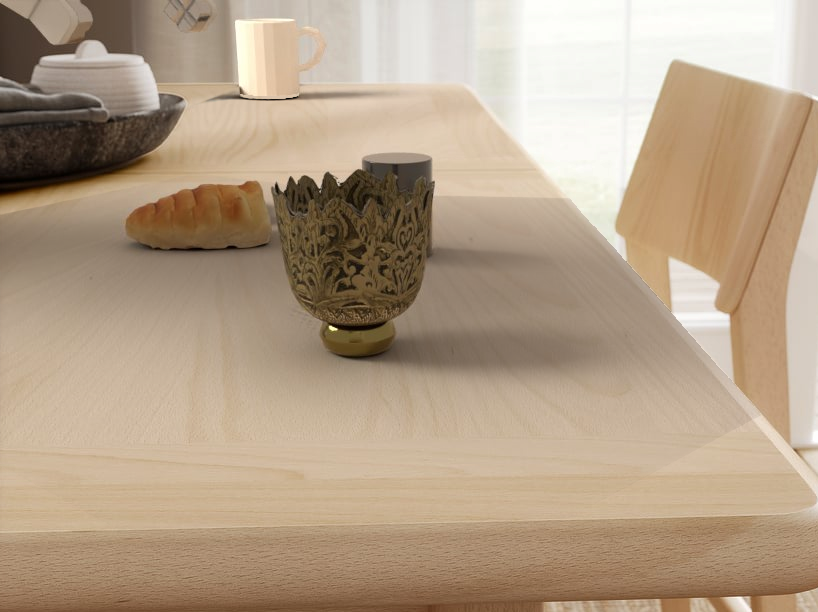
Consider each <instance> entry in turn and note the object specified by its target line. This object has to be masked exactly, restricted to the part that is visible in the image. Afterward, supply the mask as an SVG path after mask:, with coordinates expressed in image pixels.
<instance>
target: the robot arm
mask: <svg viewBox="0 0 818 612" xmlns="http://www.w3.org/2000/svg"><path fill="white" fill-rule="evenodd" d="M0 4H1V5H3V6H5V7H7V8H8V9H10V10H11V11H13V12H14V13H16V14H18V15H20V16H21V17H23V18H24V19H27V20H29V21H30V22H31V23H32V24H33V26H34V27H35V28H36V29H37V30H38V32H40V33H41V35H42V36H43V37H44V38H45V39H46V40H47V42H48V43H49V44H51V45H53V46H60V45H69V44H75V43H81V42H82V41H83V39H84V38H85V34H86V33H87V32H88V31H89V30H90V28H91V27H92V26H93V22H94V18H93V14H92V11H91V10H90V9H89V8H88V6H86V5H85V4H83V3H82V1H81V0H0ZM162 11H163V13H164V14H165V15H166V16H167V17H168V18H169V19H170V20H171V21H172V22H173V23H174V24H176V27H177V29H178V30H179V31H180V32H182V33H185V34H189V33H190V34H191V33H200V32H202V33H203V32H205V31H207V30H208V29H209V27H210V25H211V24H212V23H213V21H214V20H215V18H216V17H217V16H218V6H217V4H216V3H215V1H214V0H167V4H166V5H165V7H164V8H163V10H162Z"/></svg>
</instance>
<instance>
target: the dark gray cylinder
mask: <svg viewBox="0 0 818 612" xmlns="http://www.w3.org/2000/svg"><path fill="white" fill-rule="evenodd" d="M361 170H363V171H366V172H368V173H370V174H373V175H375V176H376V177H377V178H378V179H379V180H381V179H382V178H383V177H384V175H385V174H387V173H388V172H389V171H390V172H392V173H394V174H395V175H396V176H398V186H399V189H400V190H401V191H403V190H405V189H404V188H406V190H407V189H409V190H410V191H411V193H413V191H414V190H412V189H413V187H414V186H415V183H416V180H417V179H419V178H420V177H421V176H422V175H424V176H425V178H426V180H427V185H428V184H429V183H430V182H432V181H434V180H433V179H434V178H433V174H434V173H433V157H432V156H431V155H429V154H424V153H418V152H417V153H416V152H397V151H396V152H380V153H372V154H367V155H365V156H362V157H361ZM380 182H381V181H380ZM402 188H403V189H402ZM433 204H434V201H433V202H432V212H431V223H430V232H429V241H428V250H427V258H429V257H430V256H432V255H433V254H434V205H433Z"/></svg>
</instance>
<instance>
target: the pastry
mask: <svg viewBox="0 0 818 612" xmlns="http://www.w3.org/2000/svg"><path fill="white" fill-rule="evenodd" d="M271 233H272V224H271V217H270V213H269V208H268V207H267V205H266V200H265V196H264V189H263V187H262V185H261V183H260V182H259V181H258V180H247V181H245V182H244V183H242V184H220V183H216V184H215V183H202V184H199V185H198V186H197V187H194V188H192V189H190V188H183V189H180V190H178V192H175V193H173V194H170V195H167V196H164V197H161V198H158V199H157V201H155V202H148V203H146V204H144V205H142V206H139V207H137V208H136V209H134V210H133V211H131V213H130V214H129V215H128V216H127V218H126V219H125V234H126V236H128V237H129V238H131V239H132V240H134V241H136V242H138V243H139V244H142V245H146V246H149V247H151V248H152V249H153V250H155V248H159V249H161V250H168V251H169V250H170V249H183V250H189V249H195V248H197V249H199V248H202V249H203V250H213V249H215V250H217V249H226V248H227V247H229V246H234V247H236V248H238V249H243V248H244V249H245V248H255V247H257V246H261V245H265V244H269V241H270V238H271Z"/></svg>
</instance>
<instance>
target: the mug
mask: <svg viewBox="0 0 818 612" xmlns="http://www.w3.org/2000/svg"><path fill="white" fill-rule="evenodd" d="M234 25H235V40H236V54H237V55H236V56H237V59H236V60H237V69H238V86H239V95H240V94H243V95H253V96H279V95H292V94H298V93H300V94H301V83H300V82H301V81H300V80H301V79H300V73H302V72H306V71H309V70H310V69H312V68H313V67H315V66H317V65H319V63H320V62H321V60H322V56H323V54H324V51H325V50H326V47H327V45H328V43H327V41H326V39H325V37H324V36H323V34H322V33H321V31H320V30H319V29H317V28H315V27H312V26H304V27H301V28H298V21H297V20H296V19H293V18H241V19H235V21H234ZM303 35H308V36H310V37H311V36H312V37H314V39H315V41H316V42H317V44H318V45H317V48H316V51H315V53H314V55H313V58H311V59H309V60H308V61H307V62H305V63H302V64H300V62H299V59H300V58H299V41H298V40H299V39H298V37H300V36H303Z"/></svg>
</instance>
